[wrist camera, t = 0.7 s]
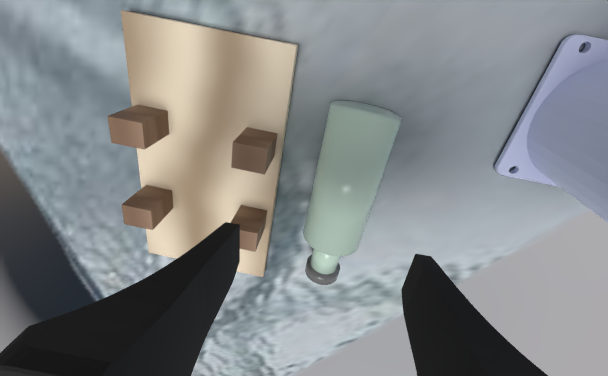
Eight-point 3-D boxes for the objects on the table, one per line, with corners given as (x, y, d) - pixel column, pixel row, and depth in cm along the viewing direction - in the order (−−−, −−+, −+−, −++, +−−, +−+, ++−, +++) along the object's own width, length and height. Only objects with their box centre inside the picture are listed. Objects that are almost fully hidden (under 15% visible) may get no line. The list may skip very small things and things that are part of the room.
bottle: (395, 109, 18) (407, 129, 15) (346, 259, 24) (347, 298, 21) (331, 96, 18) (329, 113, 15) (299, 249, 25) (291, 286, 21)
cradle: (298, 44, 17) (288, 49, 14) (265, 270, 26) (254, 304, 23) (130, 11, 17) (82, 7, 14) (153, 246, 26) (128, 276, 23)
